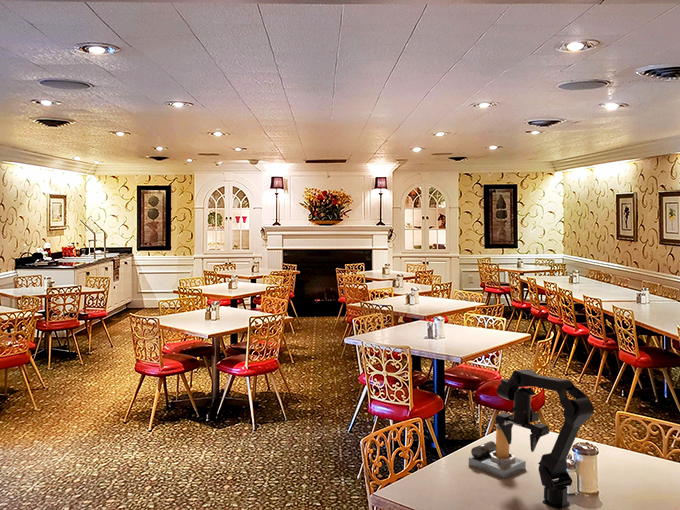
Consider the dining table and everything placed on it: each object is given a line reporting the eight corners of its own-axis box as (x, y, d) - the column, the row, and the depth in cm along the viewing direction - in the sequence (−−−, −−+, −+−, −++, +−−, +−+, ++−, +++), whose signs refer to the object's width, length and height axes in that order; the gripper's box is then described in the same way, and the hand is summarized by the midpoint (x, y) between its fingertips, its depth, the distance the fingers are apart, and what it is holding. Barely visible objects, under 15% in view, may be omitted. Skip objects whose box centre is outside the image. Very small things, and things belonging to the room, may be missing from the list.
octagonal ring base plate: (525, 468, 219) (525, 450, 218) (504, 478, 210) (504, 459, 209) (490, 456, 231) (490, 439, 231) (468, 465, 222) (468, 447, 222)
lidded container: (509, 462, 218) (509, 428, 217) (495, 460, 219) (496, 426, 218) (508, 457, 222) (509, 424, 222) (495, 455, 224) (496, 422, 223)
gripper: (558, 406, 203) (556, 450, 203) (512, 394, 217) (511, 435, 218) (541, 413, 195) (540, 458, 196) (494, 400, 210) (493, 442, 210)
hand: (520, 447), depth 205 cm, fingers open, 9 cm apart
